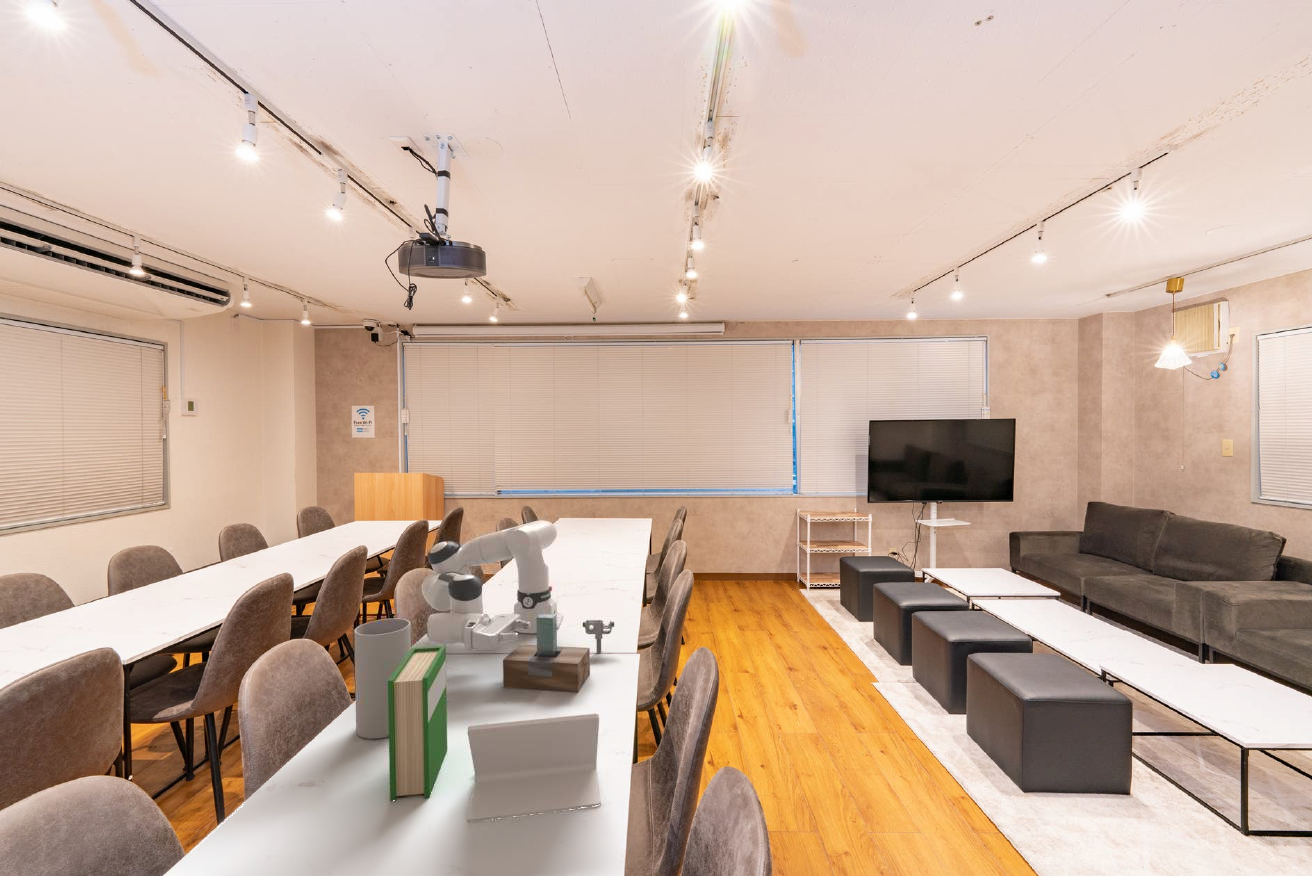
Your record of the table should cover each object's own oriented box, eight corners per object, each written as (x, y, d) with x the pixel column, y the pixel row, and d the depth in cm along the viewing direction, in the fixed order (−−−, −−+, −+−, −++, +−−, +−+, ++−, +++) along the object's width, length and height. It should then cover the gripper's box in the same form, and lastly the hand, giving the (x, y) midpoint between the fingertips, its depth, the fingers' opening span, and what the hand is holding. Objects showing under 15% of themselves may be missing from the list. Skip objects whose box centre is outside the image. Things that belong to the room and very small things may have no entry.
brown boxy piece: (519, 670, 177) (519, 644, 177) (589, 674, 174) (589, 647, 174) (503, 687, 165) (502, 659, 165) (578, 692, 162) (577, 663, 162)
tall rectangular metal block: (540, 665, 171) (540, 614, 171) (557, 665, 171) (556, 614, 170) (537, 669, 168) (536, 617, 168) (553, 670, 168) (553, 618, 167)
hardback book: (429, 798, 116) (427, 678, 116) (390, 802, 115) (387, 680, 114) (447, 750, 133) (445, 645, 133) (413, 753, 132) (411, 648, 132)
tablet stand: (601, 807, 113) (600, 719, 112) (466, 824, 108) (465, 733, 108) (594, 756, 130) (593, 680, 130) (478, 769, 126) (477, 690, 126)
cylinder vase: (400, 710, 153) (398, 615, 152) (420, 727, 144) (418, 626, 144) (349, 727, 144) (347, 627, 144) (366, 746, 135) (364, 639, 135)
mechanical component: (613, 653, 190) (613, 622, 190) (582, 653, 190) (582, 623, 190) (614, 649, 193) (614, 619, 193) (584, 650, 193) (583, 620, 193)
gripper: (494, 628, 183) (536, 629, 180) (462, 652, 162) (509, 654, 160) (493, 607, 182) (536, 609, 180) (462, 630, 162) (509, 631, 160)
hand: (523, 630), depth 170 cm, fingers open, 8 cm apart
